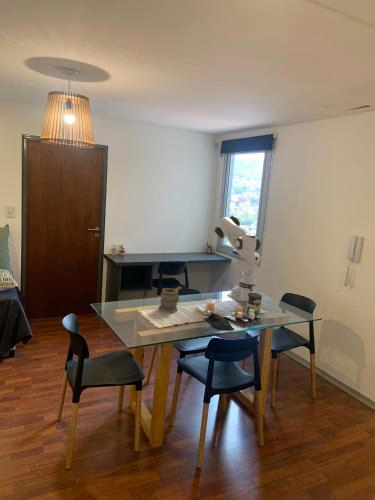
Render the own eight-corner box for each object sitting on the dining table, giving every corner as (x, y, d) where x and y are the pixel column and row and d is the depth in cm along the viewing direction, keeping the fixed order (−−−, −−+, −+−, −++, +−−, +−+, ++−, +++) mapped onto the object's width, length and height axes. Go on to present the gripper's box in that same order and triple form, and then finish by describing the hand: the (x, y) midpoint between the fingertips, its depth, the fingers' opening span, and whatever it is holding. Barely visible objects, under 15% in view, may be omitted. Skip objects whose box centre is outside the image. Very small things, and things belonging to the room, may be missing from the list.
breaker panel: (224, 319, 251) (224, 313, 250) (242, 314, 265) (242, 308, 264) (243, 327, 239) (244, 321, 238) (261, 322, 253) (262, 316, 252)
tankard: (169, 314, 250) (171, 293, 247) (155, 308, 257) (157, 288, 254) (186, 308, 265) (188, 288, 263) (173, 303, 273) (175, 283, 270)
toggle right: (248, 313, 255) (249, 309, 254) (250, 312, 256) (251, 308, 256) (251, 314, 253) (252, 310, 252) (254, 314, 254) (254, 310, 254)
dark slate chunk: (213, 331, 229) (214, 324, 228) (203, 318, 250) (204, 311, 249) (236, 331, 233) (237, 324, 232) (224, 318, 254) (225, 311, 253)
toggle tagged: (248, 317, 247) (249, 312, 246) (250, 316, 248) (251, 312, 248) (252, 318, 244) (252, 314, 244) (254, 318, 246) (254, 313, 246)
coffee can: (262, 315, 266) (264, 297, 264) (250, 316, 262) (252, 297, 260) (254, 310, 276) (257, 292, 273) (242, 311, 272) (245, 292, 269)
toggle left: (236, 316, 246) (237, 312, 245) (238, 316, 247) (239, 311, 247) (240, 318, 243) (240, 313, 243) (242, 317, 245) (242, 313, 245)
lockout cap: (239, 317, 251) (240, 309, 250) (234, 315, 254) (235, 307, 253) (243, 316, 254) (244, 308, 253) (238, 314, 257) (239, 306, 256)
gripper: (242, 259, 242) (239, 279, 244) (260, 257, 256) (257, 276, 258) (234, 257, 246) (232, 277, 249) (252, 255, 260) (250, 274, 263)
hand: (245, 277), depth 253 cm, fingers open, 8 cm apart
